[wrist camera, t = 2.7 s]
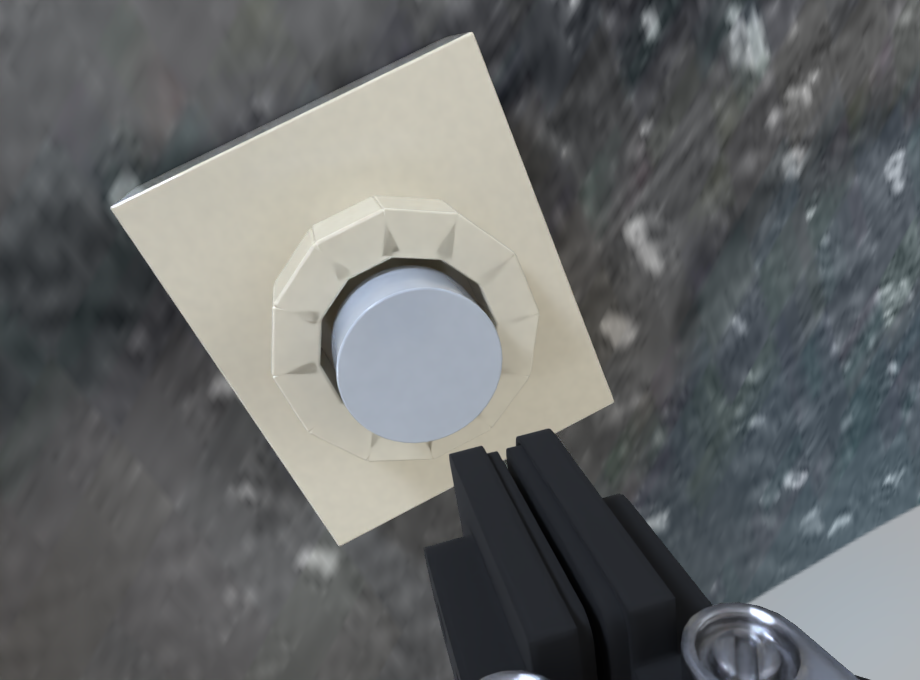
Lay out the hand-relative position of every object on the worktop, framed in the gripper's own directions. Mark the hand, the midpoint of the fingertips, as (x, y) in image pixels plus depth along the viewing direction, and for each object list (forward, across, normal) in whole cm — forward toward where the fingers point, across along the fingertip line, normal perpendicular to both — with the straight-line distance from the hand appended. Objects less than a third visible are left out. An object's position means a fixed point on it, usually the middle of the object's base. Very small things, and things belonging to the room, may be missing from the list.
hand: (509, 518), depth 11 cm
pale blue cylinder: (+8, 0, 0) cm, 8 cm away
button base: (+12, 0, 0) cm, 12 cm away
